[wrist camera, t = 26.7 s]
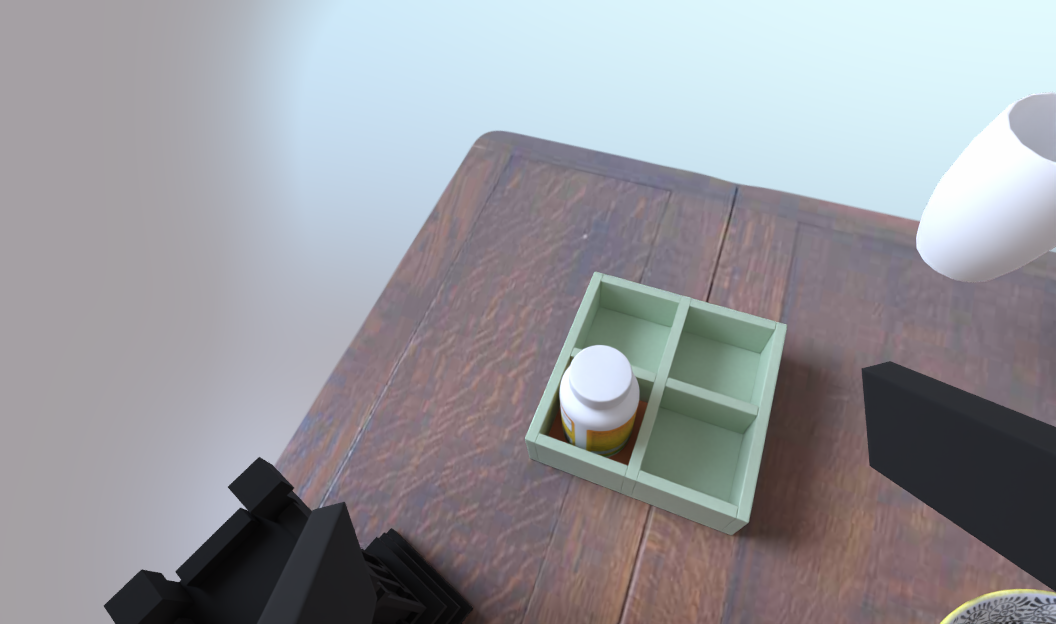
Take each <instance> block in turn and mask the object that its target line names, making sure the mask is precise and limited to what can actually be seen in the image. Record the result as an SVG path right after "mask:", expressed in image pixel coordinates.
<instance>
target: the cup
mask: <svg viewBox="0 0 1056 624" xmlns="http://www.w3.org/2000/svg"><path fill="white" fill-rule="evenodd" d="M916 241H917V250H918V251H919V253H920V255H921V257H922V259H923V260H924V261H925V262H926V263H927V264H928V265H929V266H931V267H932V268H933V269H934V270H935V271H937V272H939V273H941V274H943V275H945V276H947V277H949V278H951V279H954V280H959V281H964V282H969V283H974V282H985V281H989V280H992V279H994V278H997V277H999V276H1002V275H1004V274H1007V273H1009V272H1012V271H1014V270H1016V269H1018V268H1020V267H1022V266H1024V265H1025V264H1027V263H1029V262H1031V261H1033V260H1034V259H1036V258H1038V257H1039V256H1041V255H1043V254H1044V253H1046V252H1048V251H1049V250H1051V249H1053V248H1054V247H1056V92H1048V93H1038V94H1030V95H1028V96H1026V97H1024V98H1021V99H1019V100H1017V101H1015V102H1013V103H1011V104H1010V105H1009V106H1008V107H1007V108H1006V109H1005V110H1004V111H1003V112H1002V113H1001V114H1000V115H998V116H997V117H996V118H995V119H994V120H993V121H992V122H991V123H990V124H989V125H988V126H987V127H986V128H985V129H984V130H982V131H981V132H980V133H979V134H978V135H977V136H976V137H975V138H974V139H973V140H972V142H971V143H970V144H969V145H968V146H967V148H966V149H965V150H964V151H963V152H962V154H961V155H960V156H959V157H958V158H957V159H956V161H955V162H954V163H953V164H952V166H951V167H950V168H949V169H948V170H947V172H946V173H945V174H944V176H943V177H942V179H941V180H940V182H939V183H938V184H937V186H936V188H935V190H934V192H933V194H932V196H931V198H930V200H929V202H928V204H927V206H926V208H925V210H924V212H923V214H922V217H921V221H920V225H919V228H918V232H917V236H916Z"/></svg>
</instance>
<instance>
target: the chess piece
mask: <svg viewBox="0 0 1056 624" xmlns="http://www.w3.org/2000/svg"><path fill="white" fill-rule="evenodd" d="M228 488H229V489H230V490H231V491H232V493H233V494H234V495H235V496H236V497H237V498H238V499H239V501H240V502H241V503H242V504H243V505H244V506H245V507H246V509H247V510H248V511H247V510H245V509H242V508H240V509H239V510H237V511H236V512H235V514H233V516H231V518H229V519H228V520H227V521H226V522H225V523H224V524H223V525H222V526H221V527H220V528H219V529H218V530H217V531H216V532H215V533H214V534H213V535H212V536H211V537H210V538H209V539H208V540H207V541H206V542H205V543H204V544H203V545H202V546H201V547H200V548H199V549H198V550H197V551H196V552H195V553H194V554H193V555H192V556H191V557H190V558H189V559H188V560H187V561H186V562H185V563H184V564H183V565H182V566H181V567H179V568H178V570H177V571H176V573H177V575H178V576H179V577H180V579H181V581H180V582H175V581H169V580H166V579H165V577H164V576H163V575H162V573H158V572H152V571H147V570H141V571H140V572H139V573H137V574H136V575H135V576H134V577H133V578H132V579H131V580H130V581H129V582H128V583H127V584H126V585H125V586H124V587H123V588H122V589H121V590H120V591H119V592H118V593H117V594H115V595H114V596H113V597H112V598H111V599H110V600H109V601H108V602H107V603H106V604H105V605H104V607H105V609H106V610H107V612H108V613H109V615H110V616H111V618H112V619H113V621H114V622H115V624H257V623H258V621H259V619H260V617H261V615H262V613H263V611H264V609H265V607H266V605H267V603H268V601H269V599H270V596H271V594H272V592H273V590H274V588H275V586H276V584H277V582H278V580H279V578H280V576H281V574H282V572H283V570H284V568H285V566H286V564H287V562H288V560H289V558H290V556H291V554H292V552H293V550H294V548H295V545H296V543H297V541H298V539H299V537H300V535H301V533H302V531H303V529H304V527H305V525H306V523H307V521H308V519H309V517H310V515H311V513H312V511H311V510H310V509H309V508H308V507H307V506H306V505H305V504H304V503H303V501H302V500H301V499H300V498H299V497H298V496H297V495H296V494H295V493H294V492H293V491H292V490H293V489H294V487H293V486H292V485H291V484H290V483H289V482H288V481H287V480H286V479H285V478H284V477H283V476H282V474H281V473H280V472H279V471H278V470H277V469H276V468H275V467H274V466H273V465H272V464H270V463H268V462H267V461H265V460H263V459H262V458H260V457H259V458H258V459H257V460H255V461H254V462H253V463H252V464H251V465H250V466H249V467H248V468H247V469H246V470H245V471H244V472H243V473H242V474H241V475H240V476H239V477H238V478H237V479H236V480H235V481H233V483H231V484H230V485H229V486H228ZM361 551H362V554H363V557H364V560H365V563H366V566H367V569H368V572H369V575H370V578H371V581H372V584H373V587H374V590H375V593H376V596H377V602H376V606H375V610H374V615H373V619H372V624H462V622H463V621H464V620H465V618H466V617H467V616H468V614H469V613H470V612H471V611H472V609H473V607H472V606H471V605H470V604H469V603H468V602H467V601H466V600H465V599H464V598H463V597H462V596H460V595H459V594H458V593H457V592H456V591H455V590H454V589H453V588H452V587H451V586H450V585H449V584H448V583H447V582H446V581H445V580H444V579H443V578H442V577H441V576H440V575H439V574H438V573H437V572H436V571H435V570H434V569H433V568H432V567H431V566H430V565H429V564H428V563H427V562H426V561H425V560H424V559H423V558H422V557H421V556H420V555H419V554H418V553H417V552H416V551H415V550H414V549H413V548H412V547H411V546H410V545H409V544H408V543H407V542H406V541H405V540H404V539H403V538H402V537H401V536H400V535H399V534H398V533H397V532H396V531H395V530H393V529H392V528H391V529H390V530H389V531H388V532H387V534H386V533H383V534H382V536H381V537H380V538H377V537H376V538H375V539H374V541H373V542H372V543H371V544H370V545H369V546H368V547H367V548H366V550H363V549H361Z"/></svg>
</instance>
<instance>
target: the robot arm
mask: <svg viewBox="0 0 1056 624" xmlns="http://www.w3.org/2000/svg"><path fill="white" fill-rule="evenodd" d="M862 379H863V391H864V402H865V414H866V426H867V438H868V450H869V462H870V466H871V467H872V468H874V469H875V470H877V471H878V472H880V473H881V474H883V475H884V476H886V477H887V478H889V479H890V480H891V481H893V482H894V483H896V484H897V485H899V486H900V487H902V488H903V489H905V490H906V491H908V492H909V493H911V494H912V495H914V496H915V497H917V498H918V499H920V500H921V501H922V502H924V503H925V504H927V505H928V506H930V507H931V508H933V509H934V510H936V511H937V512H939V513H940V514H942V515H943V516H945V517H946V518H948V519H949V520H951V521H952V522H953V523H955V524H956V525H958V526H959V527H961V528H962V529H964V530H965V531H967V532H968V533H970V534H971V535H973V536H974V537H976V538H977V539H979V540H980V541H982V542H983V543H984V544H986V545H987V546H989V547H990V548H992V549H993V550H995V551H996V552H998V553H999V554H1001V555H1002V556H1004V557H1005V558H1007V559H1008V560H1010V561H1011V562H1012V563H1014V564H1015V565H1017V566H1018V567H1020V568H1021V569H1023V570H1024V571H1026V572H1027V573H1029V574H1030V575H1032V576H1033V577H1035V578H1036V579H1038V580H1039V581H1041V582H1042V583H1043V584H1045V585H1046V586H1048V587H1049V588H1051V589H1052V590H1054V591H1055V592H1056V427H1054V426H1051V425H1049V424H1046V423H1044V422H1041V421H1039V420H1036V419H1034V418H1031V417H1029V416H1026V415H1024V414H1021V413H1019V412H1016V411H1014V410H1011V409H1009V408H1006V407H1004V406H1001V405H999V404H996V403H994V402H991V401H989V400H986V399H984V398H981V397H979V396H976V395H973V394H971V393H968V392H966V391H963V390H961V389H958V388H956V387H953V386H951V385H948V384H946V383H943V382H941V381H938V380H936V379H933V378H931V377H928V376H926V375H923V374H921V373H918V372H916V371H913V370H911V369H908V368H906V367H903V366H901V365H898V364H896V363H893V362H886V363H882V364H878V365H874V366H870V367H866V368H862ZM376 602H377V596H376V593H375V590H374V587H373V584H372V581H371V578H370V575H369V572H368V569H367V566H366V563H365V560H364V557H363V554H362V551H361V548H360V545H359V542H358V539H357V536H356V533H355V530H354V528H353V525H352V522H351V519H350V516H349V513H348V510H347V507H346V504H345V502H342V503H338V504H334V505H331V506H327V507H323V508H319V509H315V510H313V511H312V513H311V515H310V517H309V519H308V521H307V523H306V525H305V527H304V529H303V531H302V533H301V535H300V537H299V539H298V541H297V543H296V545H295V548H294V550H293V552H292V554H291V556H290V558H289V560H288V562H287V564H286V566H285V568H284V570H283V572H282V574H281V576H280V578H279V580H278V582H277V584H276V586H275V588H274V590H273V592H272V594H271V596H270V599H269V601H268V603H267V605H266V607H265V609H264V611H263V613H262V615H261V617H260V619H259V621H258V623H257V624H372V619H373V615H374V610H375V606H376Z"/></svg>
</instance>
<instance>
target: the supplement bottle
mask: <svg viewBox="0 0 1056 624" xmlns="http://www.w3.org/2000/svg"><path fill="white" fill-rule="evenodd" d="M638 403H639V385H638V381H637V379H636V377H635V375H634V373H633V372H632V367H631V365H630V363H629V361H628V359H627V358H626V357H625V355H623V354H622V353H621V352H620V351H618V350H617V349H615V348H612V347H609V346H604V345H595V346H591V347H587V348H585V349H583V350H582V351H580V352H579V353H578V354H577V355H576V356H575V357H574V359H573V360H572V362H571V365H570V366H569V368H568V369H567V370H566V371H565V373H564V375H563V377H562V380H561V384H560V406H561V419H562V428H563V433H564V436H565V438H566V440H567V442H568V443H569V444H570V445H573V446H576V447H578V448H581V449H584V450H587V451H589V452H592V453H595V454H597V455H600V456H603V457H606V458H607V457H610V456H613V455H615V454H617V453H618V452H619V451H621V450H622V449H623V448H624V447H625V445H626V444H627V443H628V441H629V439H630V436H631V434H632V429H633V425H634V420H635V416H636V412H637V407H638Z"/></svg>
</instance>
